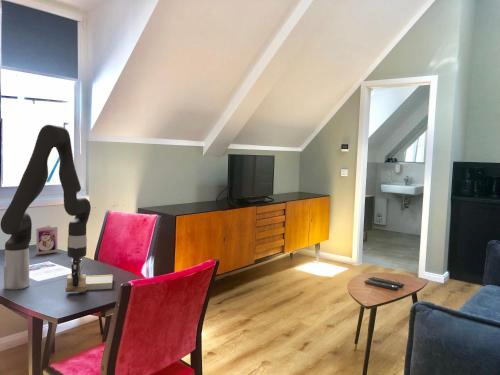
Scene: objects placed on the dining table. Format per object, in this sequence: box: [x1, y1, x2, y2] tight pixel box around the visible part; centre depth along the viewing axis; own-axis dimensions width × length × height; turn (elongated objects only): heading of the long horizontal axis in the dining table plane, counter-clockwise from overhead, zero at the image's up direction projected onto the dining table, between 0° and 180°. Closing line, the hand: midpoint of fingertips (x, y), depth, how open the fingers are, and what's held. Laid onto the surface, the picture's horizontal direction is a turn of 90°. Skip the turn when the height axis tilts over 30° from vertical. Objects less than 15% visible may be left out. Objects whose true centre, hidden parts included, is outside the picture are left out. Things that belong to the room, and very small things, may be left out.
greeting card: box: [35, 225, 58, 255], centre depth 240 cm, size 11×7×15 cm, turn 132°
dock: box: [86, 274, 114, 291], centre depth 187 cm, size 14×12×3 cm
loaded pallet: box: [65, 273, 87, 293], centre depth 175 cm, size 8×5×6 cm, turn 107°
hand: (76, 283), depth 175 cm, fingers closed on loaded pallet, 5 cm apart
